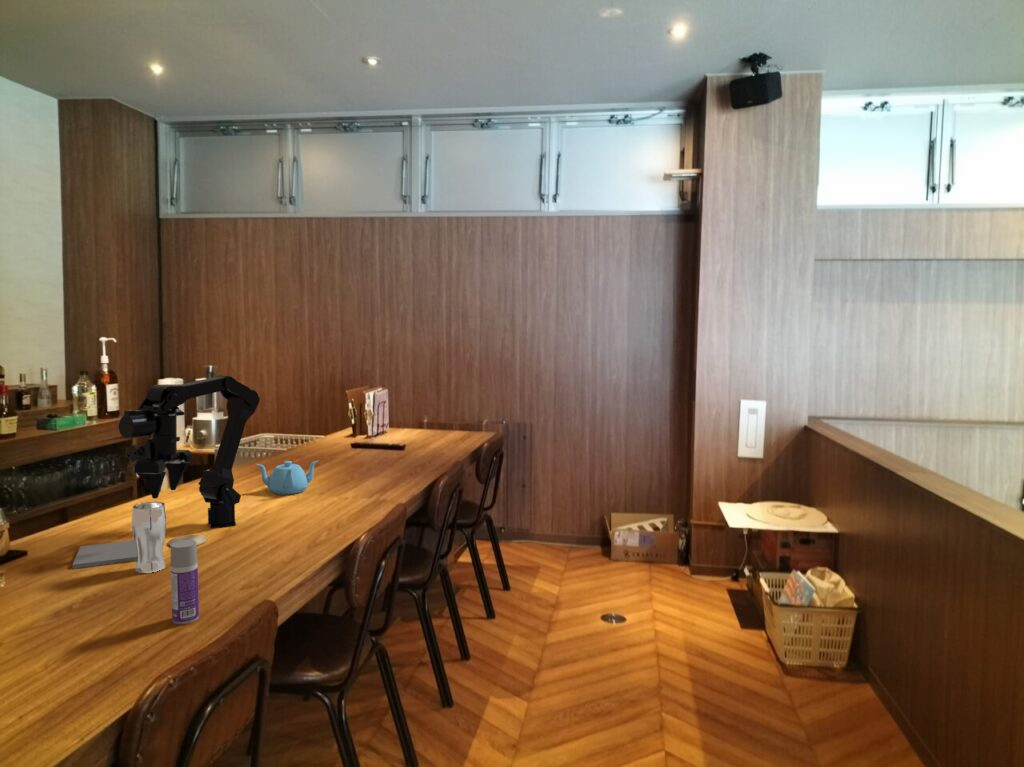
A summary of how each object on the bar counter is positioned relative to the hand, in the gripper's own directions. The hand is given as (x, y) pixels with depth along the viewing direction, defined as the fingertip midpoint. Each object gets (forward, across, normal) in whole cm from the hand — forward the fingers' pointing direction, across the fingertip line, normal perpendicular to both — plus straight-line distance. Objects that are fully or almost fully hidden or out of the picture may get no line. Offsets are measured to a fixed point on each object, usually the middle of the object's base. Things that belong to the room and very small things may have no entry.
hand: (164, 494), depth 172 cm
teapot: (+11, -52, +15) cm, 56 cm away
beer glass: (+13, +18, +6) cm, 23 cm away
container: (+14, +44, +26) cm, 53 cm away
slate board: (+13, +10, -8) cm, 18 cm away
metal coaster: (+13, 0, +6) cm, 14 cm away
